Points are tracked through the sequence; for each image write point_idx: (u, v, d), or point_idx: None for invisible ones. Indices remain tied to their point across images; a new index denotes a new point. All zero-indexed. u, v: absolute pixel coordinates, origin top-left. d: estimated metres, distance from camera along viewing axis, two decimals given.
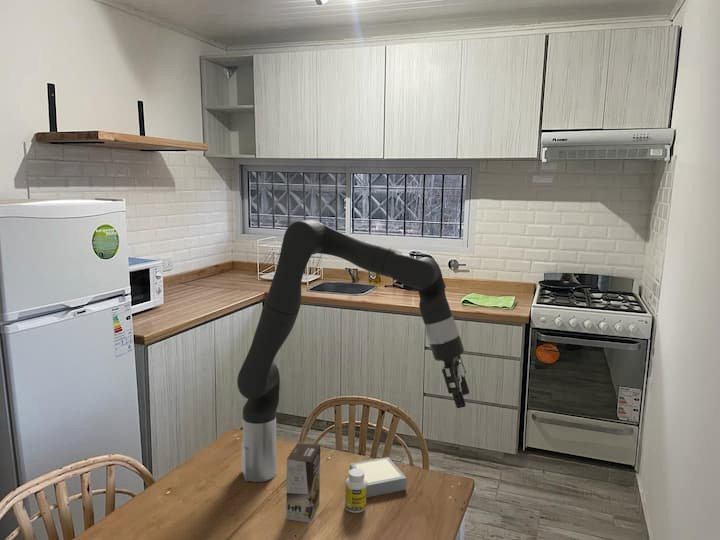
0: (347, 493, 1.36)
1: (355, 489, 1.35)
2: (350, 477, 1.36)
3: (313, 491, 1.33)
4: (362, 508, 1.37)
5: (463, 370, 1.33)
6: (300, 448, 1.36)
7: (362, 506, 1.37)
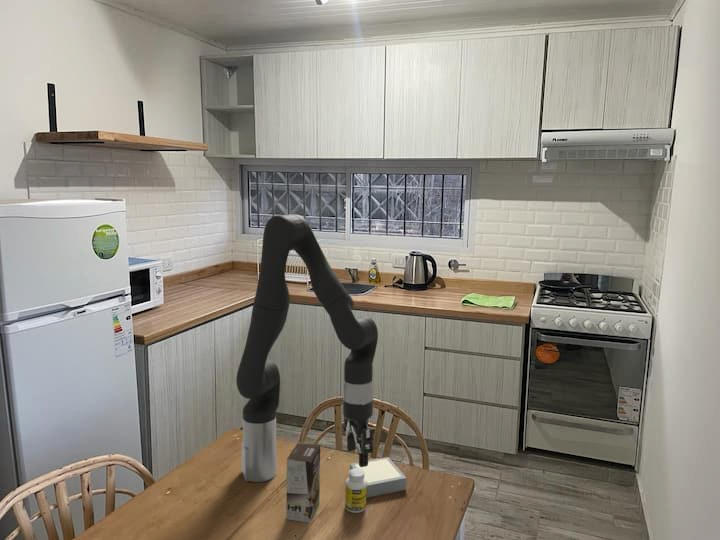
0: (347, 493, 1.36)
1: (355, 489, 1.35)
2: (350, 477, 1.36)
3: (313, 491, 1.33)
4: (362, 508, 1.37)
5: None
6: (300, 448, 1.36)
7: (362, 506, 1.37)
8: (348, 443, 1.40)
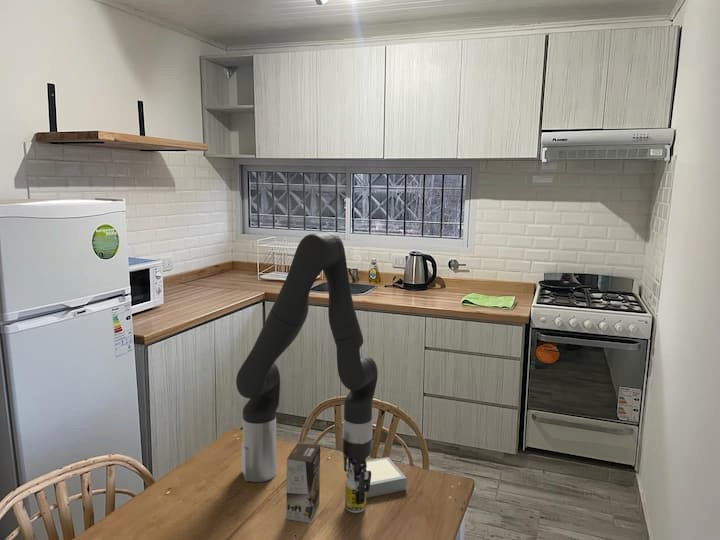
0: (347, 493, 1.36)
1: (355, 489, 1.35)
2: (350, 477, 1.36)
3: (313, 491, 1.33)
4: (362, 508, 1.37)
5: None
6: (300, 448, 1.36)
7: (362, 506, 1.37)
8: None
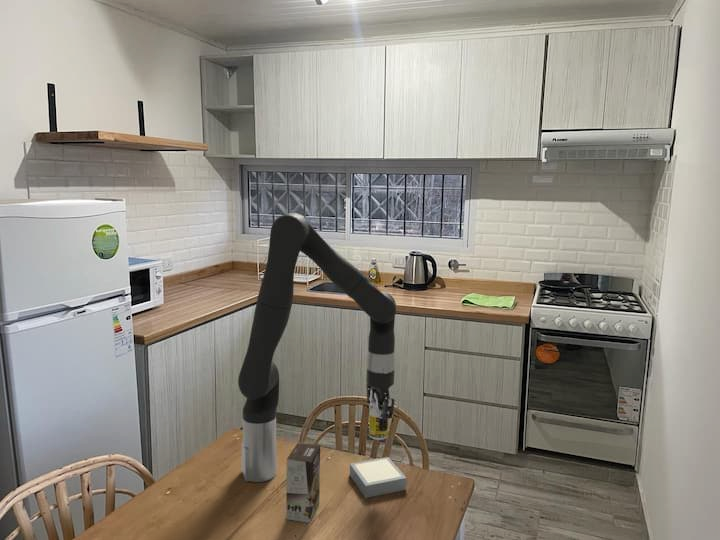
0: (371, 421, 1.46)
1: (379, 417, 1.45)
2: (374, 406, 1.46)
3: (313, 491, 1.33)
4: (385, 435, 1.46)
5: None
6: (300, 448, 1.36)
7: (385, 433, 1.46)
8: None
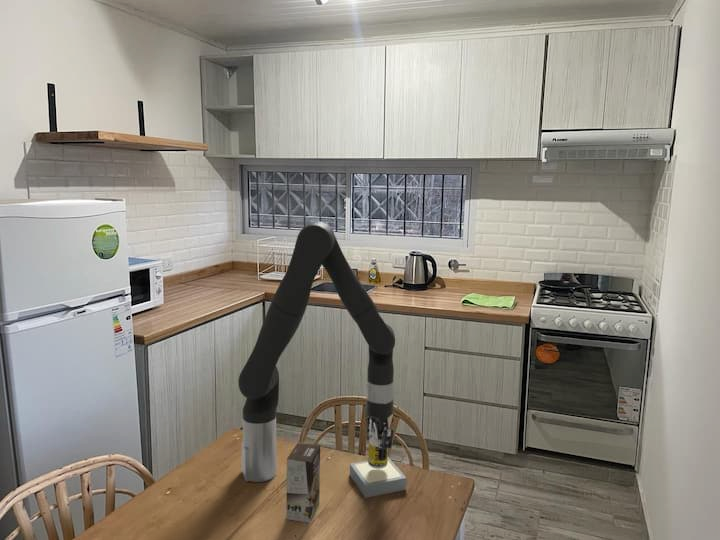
0: (370, 450, 1.47)
1: (378, 446, 1.46)
2: (373, 435, 1.47)
3: (313, 491, 1.33)
4: (384, 464, 1.48)
5: None
6: (300, 448, 1.36)
7: (384, 462, 1.48)
8: None
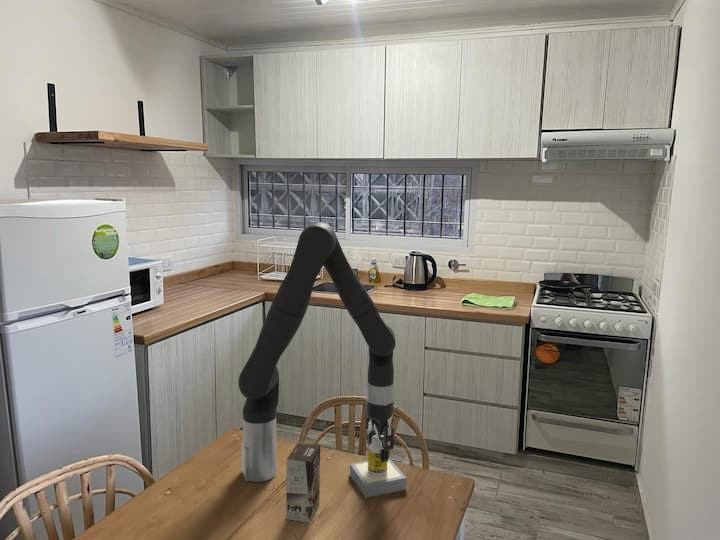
0: (370, 457, 1.48)
1: (378, 453, 1.46)
2: (373, 442, 1.47)
3: (313, 491, 1.33)
4: (384, 471, 1.48)
5: None
6: (300, 448, 1.36)
7: (384, 469, 1.48)
8: (369, 440, 1.52)
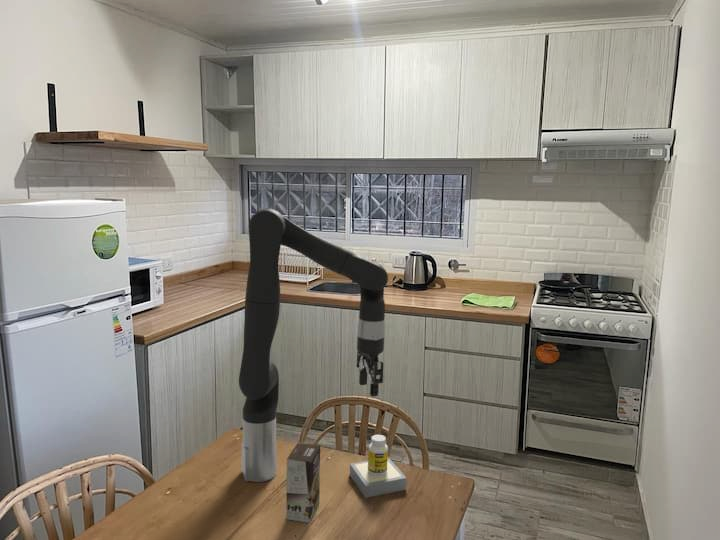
0: (370, 457, 1.48)
1: (378, 453, 1.46)
2: (373, 442, 1.47)
3: (313, 491, 1.33)
4: (384, 471, 1.48)
5: None
6: (300, 448, 1.36)
7: (384, 469, 1.48)
8: (360, 378, 1.55)
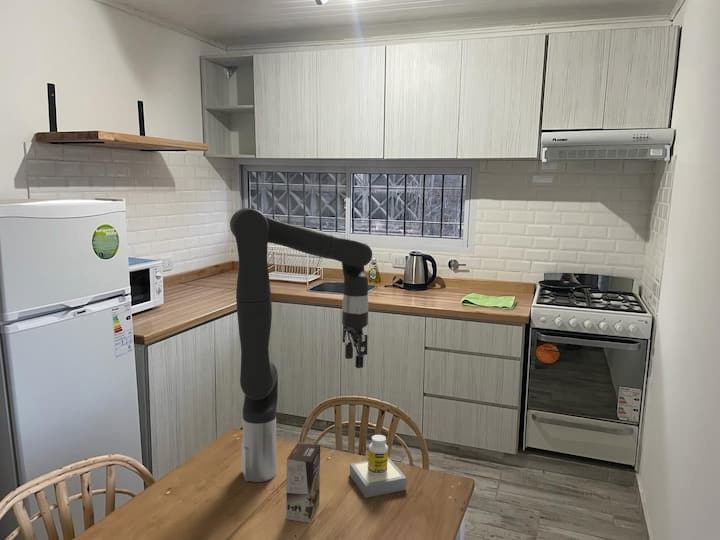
0: (370, 457, 1.48)
1: (378, 453, 1.46)
2: (373, 442, 1.47)
3: (313, 491, 1.33)
4: (384, 471, 1.48)
5: None
6: (300, 448, 1.36)
7: (384, 469, 1.48)
8: (346, 352, 1.62)
